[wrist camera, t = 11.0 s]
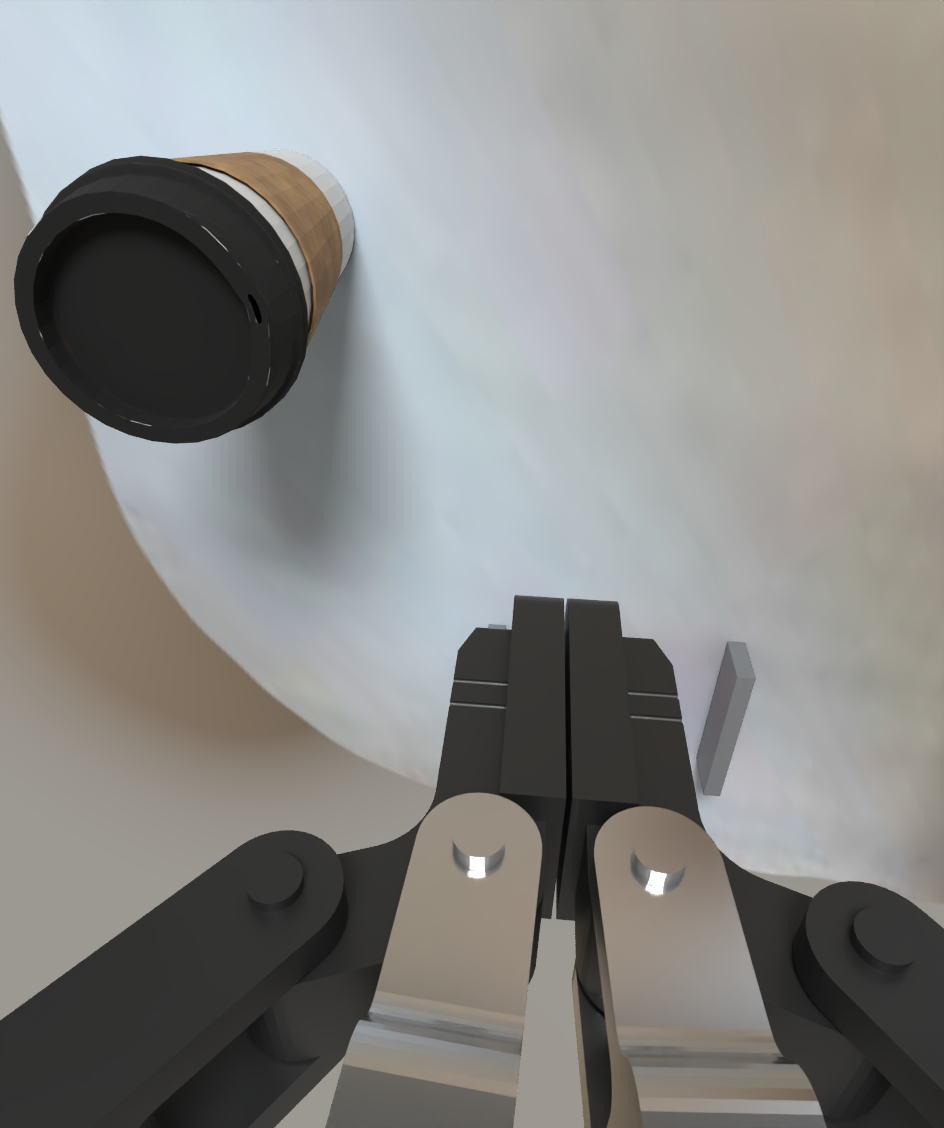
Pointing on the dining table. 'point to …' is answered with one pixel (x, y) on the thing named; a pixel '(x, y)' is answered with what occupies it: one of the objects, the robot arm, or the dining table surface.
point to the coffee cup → (183, 287)
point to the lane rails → (722, 716)
